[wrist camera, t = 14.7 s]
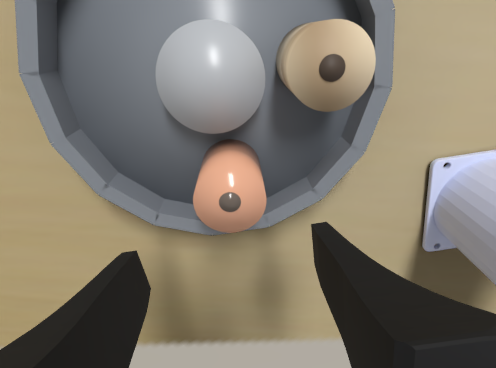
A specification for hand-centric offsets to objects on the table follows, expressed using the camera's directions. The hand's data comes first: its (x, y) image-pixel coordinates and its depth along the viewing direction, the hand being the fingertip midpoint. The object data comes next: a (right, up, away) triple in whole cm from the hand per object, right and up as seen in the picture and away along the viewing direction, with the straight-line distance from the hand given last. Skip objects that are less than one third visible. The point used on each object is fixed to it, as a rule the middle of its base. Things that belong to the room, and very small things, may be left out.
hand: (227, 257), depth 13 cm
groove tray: (-1, +10, +7) cm, 12 cm away
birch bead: (+4, +10, +6) cm, 13 cm away
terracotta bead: (0, +4, +9) cm, 10 cm away
